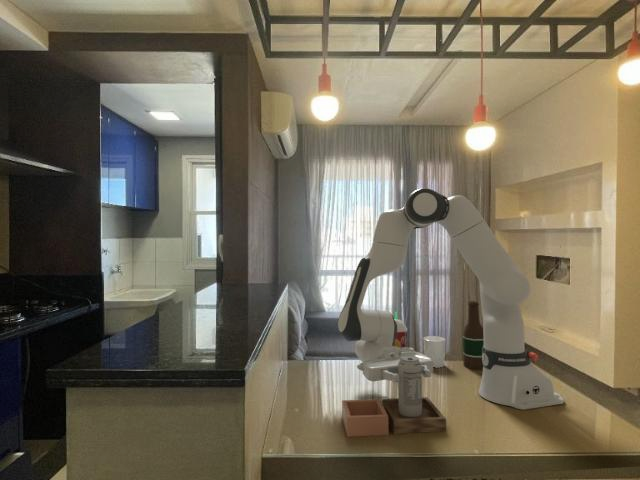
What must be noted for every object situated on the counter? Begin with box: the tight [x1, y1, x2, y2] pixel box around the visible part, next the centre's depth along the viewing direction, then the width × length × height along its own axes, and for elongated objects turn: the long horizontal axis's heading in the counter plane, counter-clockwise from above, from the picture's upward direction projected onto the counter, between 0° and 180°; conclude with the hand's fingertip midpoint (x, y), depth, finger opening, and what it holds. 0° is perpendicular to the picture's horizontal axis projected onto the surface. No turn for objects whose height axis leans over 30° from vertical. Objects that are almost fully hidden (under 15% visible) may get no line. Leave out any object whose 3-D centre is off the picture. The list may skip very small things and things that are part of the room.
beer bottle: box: [462, 300, 484, 370], centre depth 140 cm, size 8×8×24 cm
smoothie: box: [393, 311, 408, 347], centre depth 143 cm, size 8×8×20 cm
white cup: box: [423, 335, 446, 369], centre depth 142 cm, size 8×8×10 cm
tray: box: [381, 396, 447, 434], centre depth 98 cm, size 13×13×3 cm
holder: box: [341, 398, 389, 438], centre depth 95 cm, size 10×10×4 cm
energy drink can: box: [397, 355, 423, 419], centre depth 99 cm, size 6×6×15 cm
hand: (413, 376), depth 98 cm, fingers open, 8 cm apart
